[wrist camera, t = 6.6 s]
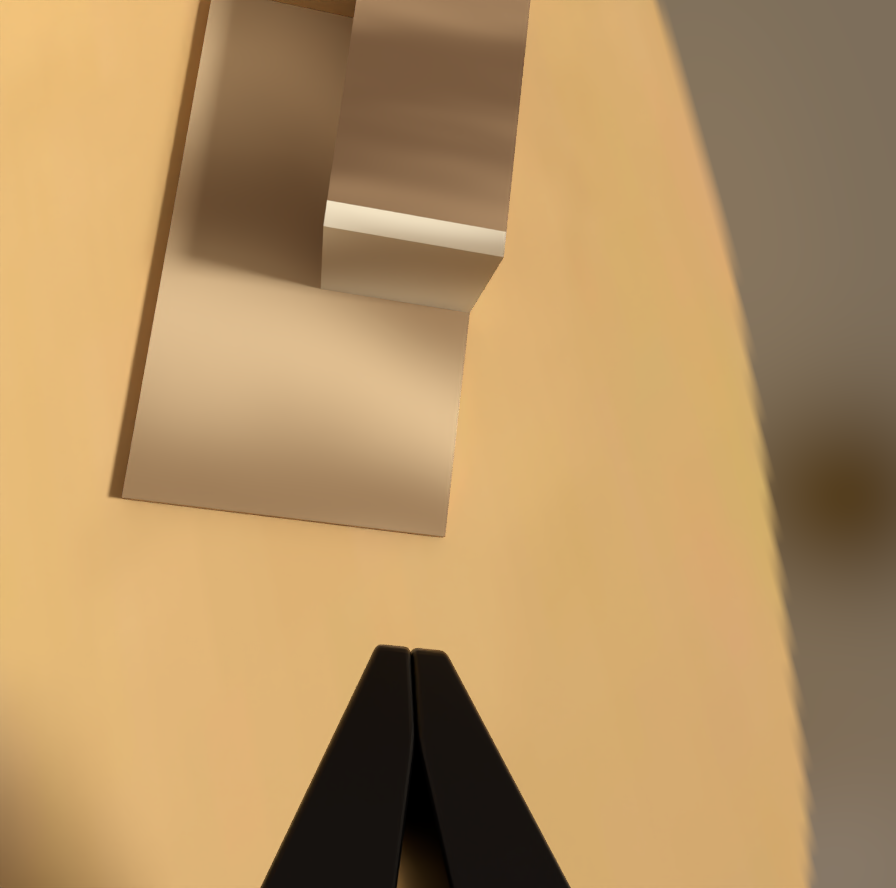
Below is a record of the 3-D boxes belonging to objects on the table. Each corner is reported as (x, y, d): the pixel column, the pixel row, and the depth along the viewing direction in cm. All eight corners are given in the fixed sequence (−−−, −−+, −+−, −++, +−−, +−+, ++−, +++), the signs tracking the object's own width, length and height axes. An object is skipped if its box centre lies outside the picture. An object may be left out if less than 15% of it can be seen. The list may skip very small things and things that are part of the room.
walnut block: (503, 257, 18) (544, -129, 20) (323, 226, 18) (380, -169, 20) (469, 312, 22) (505, -15, 24) (320, 288, 22) (368, -45, 24)
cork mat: (442, 537, 22) (444, 536, 21) (125, 498, 21) (121, 497, 20) (495, 56, 24) (498, 48, 24) (215, -2, 23) (213, -12, 23)
